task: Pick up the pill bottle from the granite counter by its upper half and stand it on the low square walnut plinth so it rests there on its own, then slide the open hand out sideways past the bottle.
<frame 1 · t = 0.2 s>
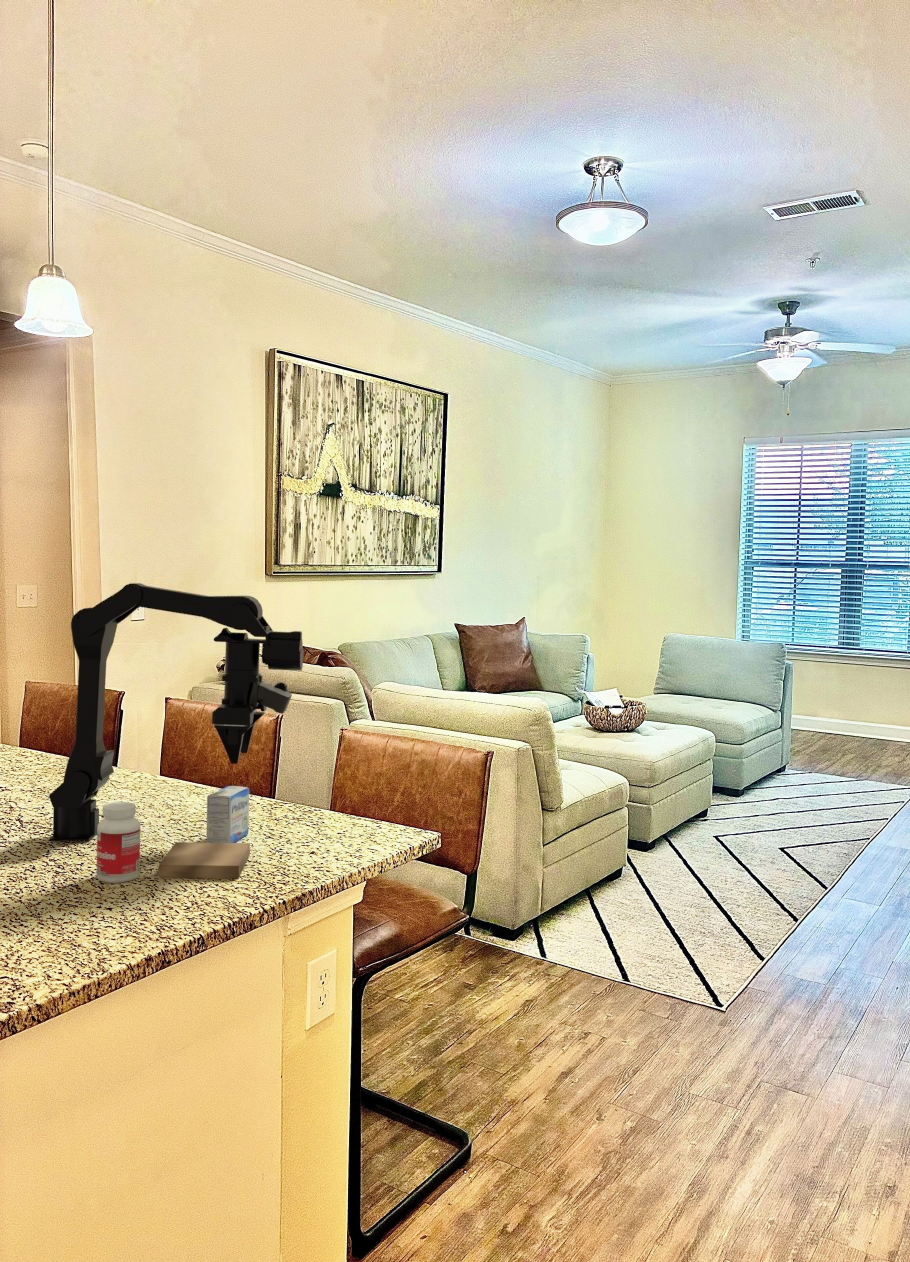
hand: (239, 758, 164), 14 cm above the worktop, tool pointing down, fingers open, 9 cm apart
walnut plinth: (206, 866, 150), on the worktop
pill bottle: (118, 878, 143), on the worktop
medicine box: (227, 840, 165), on the worktop
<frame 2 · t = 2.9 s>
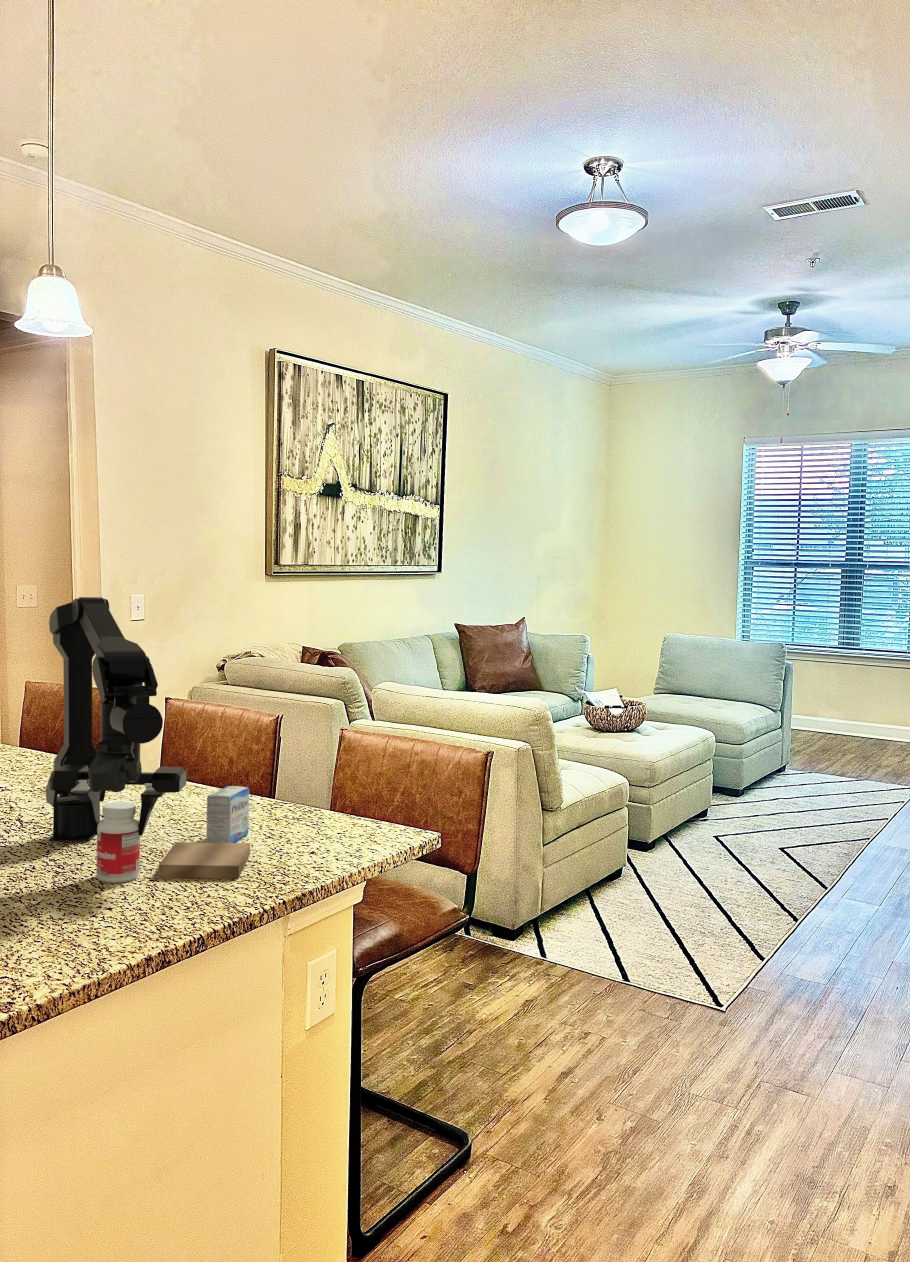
hand: (118, 834, 143), 7 cm above the worktop, tool pointing down, fingers closed on pill bottle, 6 cm apart
pill bottle: (118, 878, 143), on the worktop, touching gripper
everything else where it was.
when the fingers open (9 cm above the worktop, at t = 6.9 s): pill bottle stays where it is, resting on walnut plinth.
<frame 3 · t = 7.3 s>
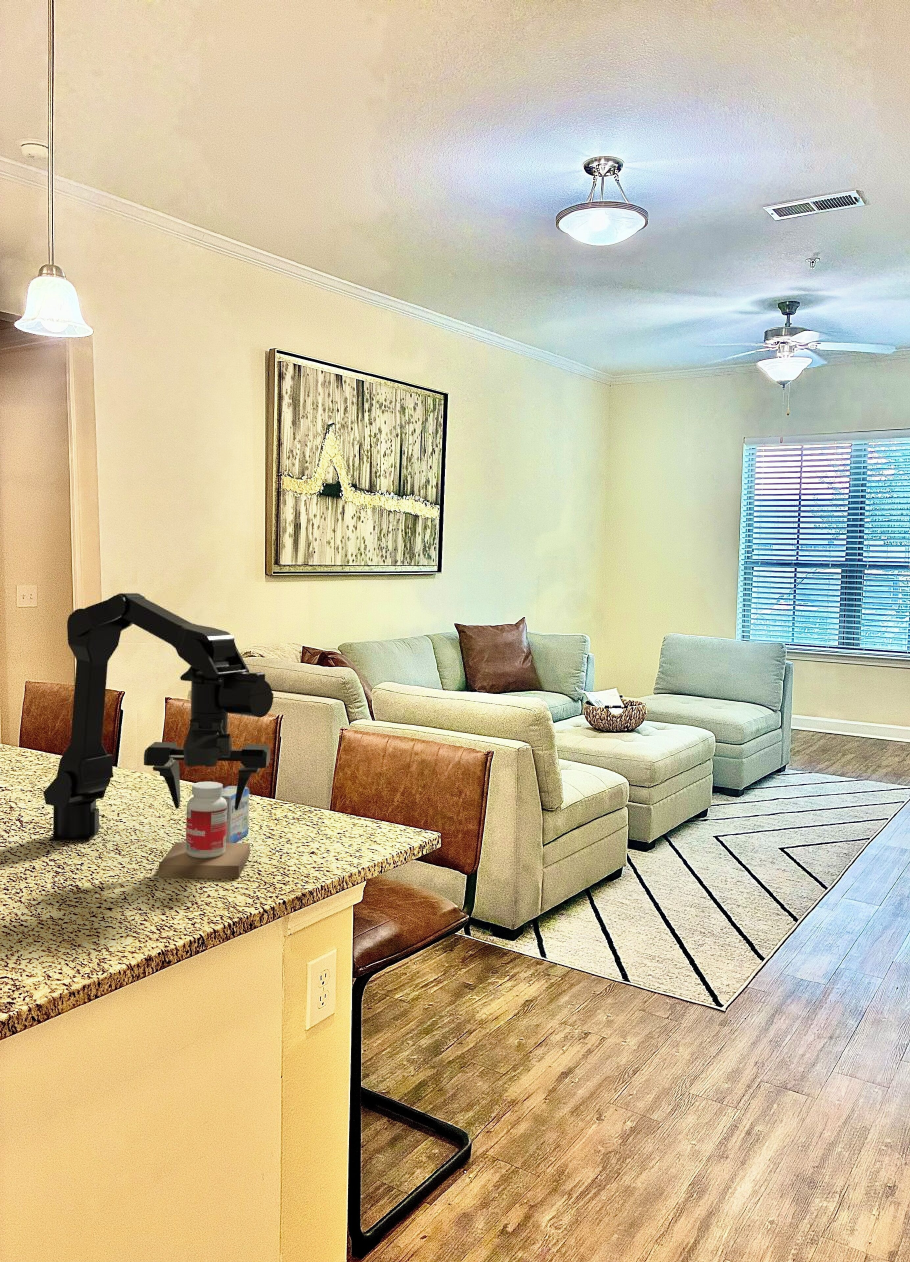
hand: (207, 808, 150), 9 cm above the worktop, tool pointing down, fingers open, 9 cm apart
pill bottle: (205, 854, 150), point 2 cm above the worktop, touching walnut plinth
everything else where it was.
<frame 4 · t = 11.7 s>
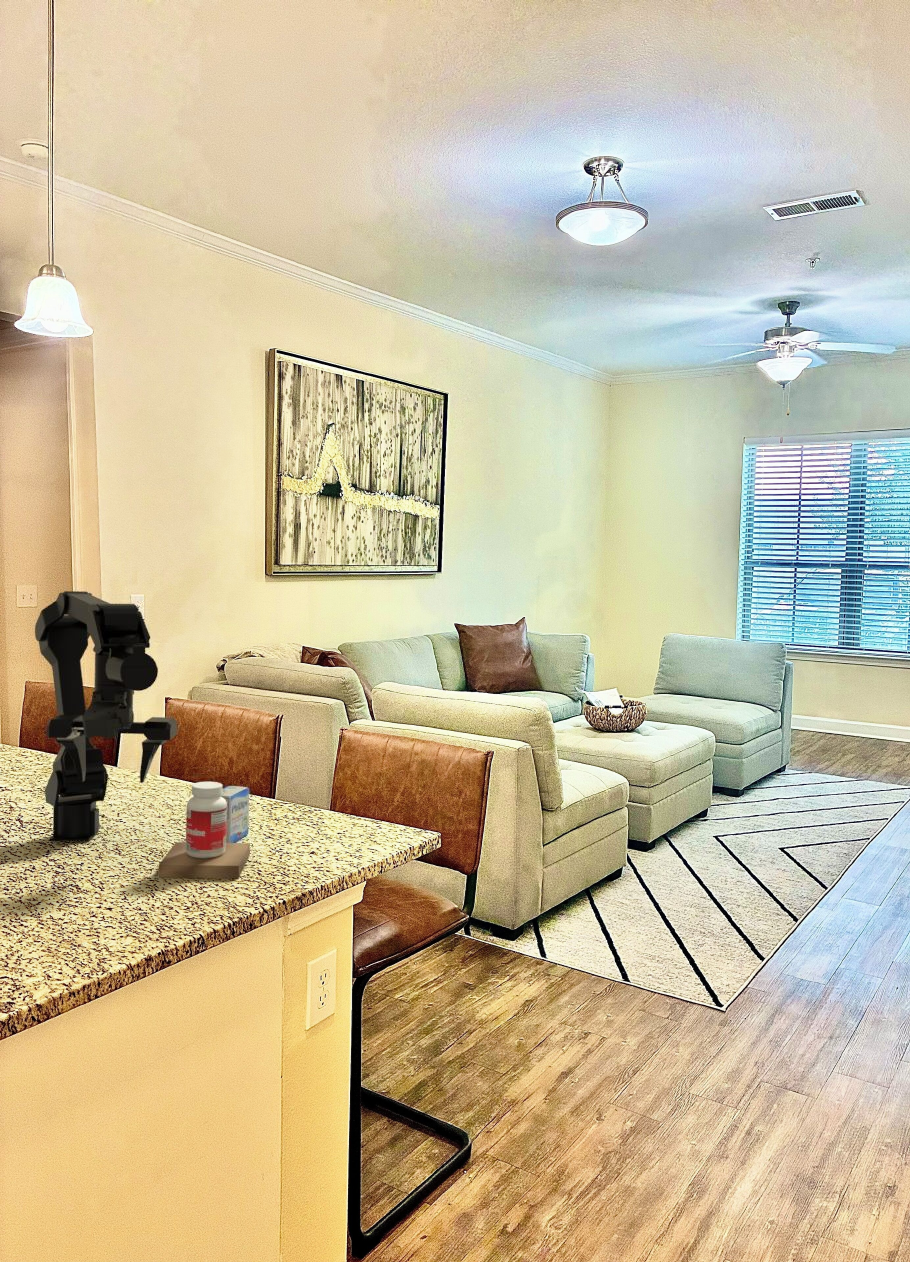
hand: (112, 781, 149), 13 cm above the worktop, tool pointing down, fingers open, 9 cm apart
nothing on the worktop moved.
at the end: pill bottle 0.1 cm from the walnut plinth (horizontally); pill bottle tilted 0°; pill bottle touching walnut plinth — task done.
